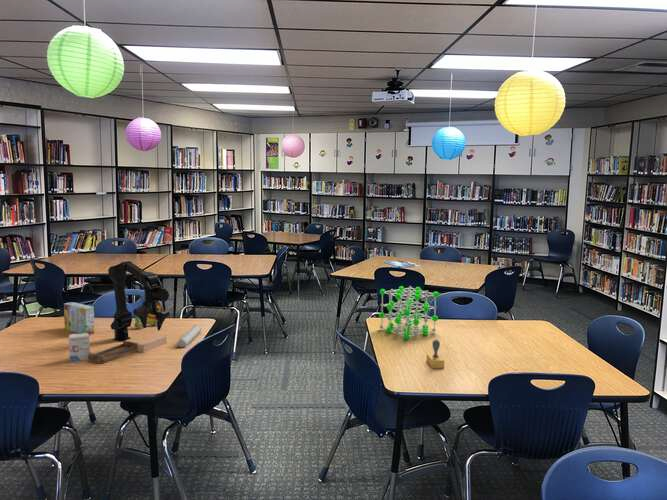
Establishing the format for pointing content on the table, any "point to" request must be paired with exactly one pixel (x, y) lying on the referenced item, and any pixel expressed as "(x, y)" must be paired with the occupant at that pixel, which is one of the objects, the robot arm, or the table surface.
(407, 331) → the molecular structure model
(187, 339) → the tube
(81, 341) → the ink box
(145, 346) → the beige long block
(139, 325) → the toy lion
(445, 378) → the table surface
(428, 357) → the rubber stamp
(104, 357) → the wooden tray
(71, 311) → the snack box
